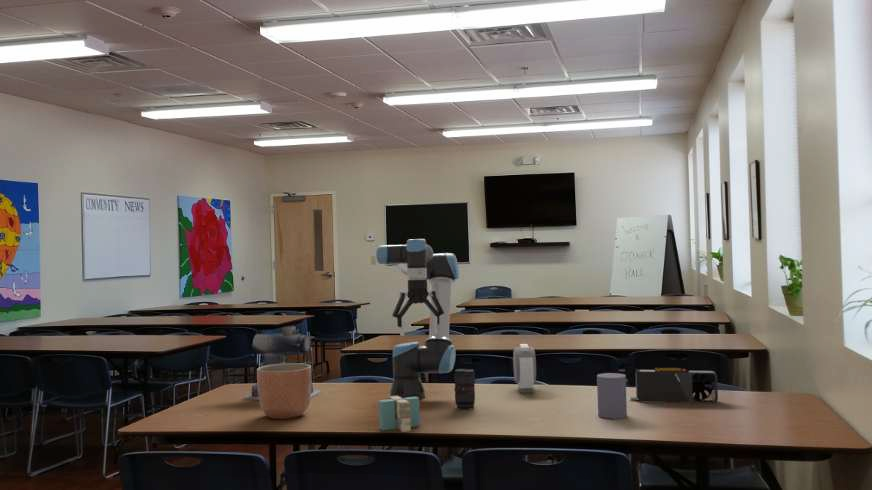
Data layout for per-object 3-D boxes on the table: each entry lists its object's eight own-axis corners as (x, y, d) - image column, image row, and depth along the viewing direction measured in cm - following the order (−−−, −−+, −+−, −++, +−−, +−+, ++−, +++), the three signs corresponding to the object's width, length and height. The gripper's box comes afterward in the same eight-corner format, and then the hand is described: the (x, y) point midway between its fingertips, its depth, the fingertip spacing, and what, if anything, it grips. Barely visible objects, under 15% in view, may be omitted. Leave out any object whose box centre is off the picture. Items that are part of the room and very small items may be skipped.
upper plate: (389, 423, 273) (389, 396, 273) (398, 422, 274) (397, 395, 274) (402, 432, 260) (401, 403, 260) (410, 431, 261) (409, 402, 261)
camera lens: (474, 410, 292) (472, 371, 292) (453, 409, 293) (452, 371, 293) (477, 405, 300) (475, 368, 300) (457, 405, 301) (456, 368, 301)
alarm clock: (537, 393, 320) (535, 346, 320) (517, 394, 320) (516, 347, 320) (532, 386, 338) (531, 341, 338) (513, 386, 338) (512, 342, 338)
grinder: (258, 391, 345) (256, 325, 345) (322, 392, 339) (320, 324, 340) (240, 399, 327) (238, 329, 327) (308, 400, 321) (306, 328, 321)
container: (610, 420, 268) (609, 378, 268) (592, 415, 277) (591, 375, 277) (633, 417, 273) (631, 375, 273) (613, 412, 282) (612, 372, 282)
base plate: (382, 430, 263) (381, 402, 263) (379, 428, 266) (379, 400, 266) (419, 425, 268) (419, 398, 268) (416, 424, 271) (416, 396, 271)
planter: (253, 414, 297) (252, 366, 297) (305, 408, 305) (304, 361, 305) (263, 424, 278) (262, 373, 278) (318, 418, 286) (316, 368, 286)
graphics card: (630, 401, 299) (629, 366, 299) (630, 399, 304) (629, 364, 304) (718, 404, 291) (717, 367, 291) (716, 402, 296) (716, 365, 296)
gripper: (389, 280, 279) (390, 337, 279) (451, 277, 288) (452, 333, 288) (383, 280, 286) (385, 335, 286) (443, 277, 295) (445, 331, 295)
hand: (419, 334), depth 287 cm, fingers open, 13 cm apart
